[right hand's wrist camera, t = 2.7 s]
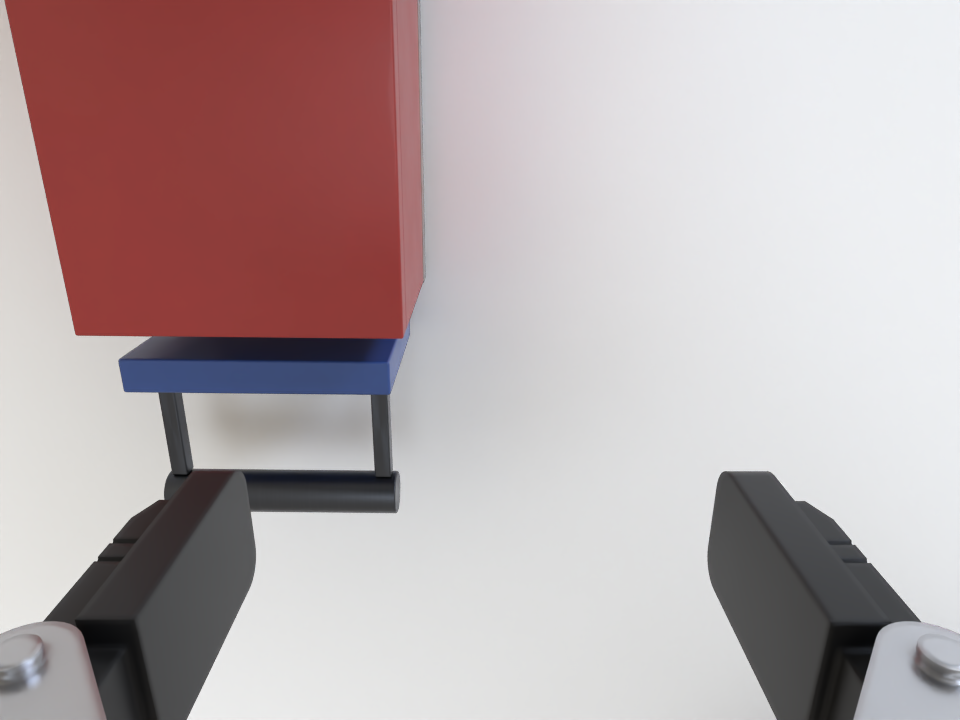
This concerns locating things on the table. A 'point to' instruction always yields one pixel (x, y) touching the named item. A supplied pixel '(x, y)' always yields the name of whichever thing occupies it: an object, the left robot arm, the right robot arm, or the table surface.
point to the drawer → (277, 372)
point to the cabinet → (230, 163)
